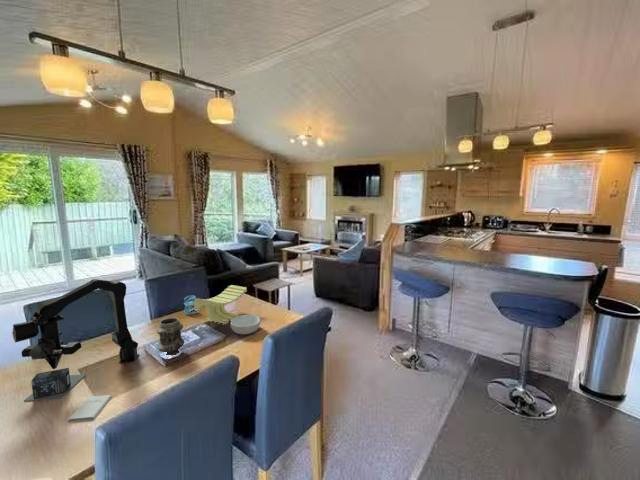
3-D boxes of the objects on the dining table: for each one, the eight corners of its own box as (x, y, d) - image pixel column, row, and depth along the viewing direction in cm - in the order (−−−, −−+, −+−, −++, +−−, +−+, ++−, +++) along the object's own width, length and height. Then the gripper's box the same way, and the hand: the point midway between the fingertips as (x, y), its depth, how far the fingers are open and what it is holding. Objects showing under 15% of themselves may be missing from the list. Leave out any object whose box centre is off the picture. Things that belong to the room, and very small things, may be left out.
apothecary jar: (176, 346, 161) (174, 313, 159) (189, 353, 154) (187, 319, 152) (153, 355, 152) (150, 321, 149) (166, 363, 145) (163, 327, 142)
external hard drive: (68, 423, 108) (89, 400, 120) (93, 420, 109) (111, 398, 121) (67, 419, 107) (88, 396, 120) (93, 416, 109) (111, 394, 121)
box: (67, 392, 123) (33, 399, 118) (71, 384, 128) (38, 391, 123) (64, 374, 122) (30, 381, 117) (69, 367, 127) (36, 373, 122)
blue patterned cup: (182, 313, 206) (181, 296, 204) (195, 309, 212) (193, 293, 210) (186, 316, 201) (185, 299, 199) (199, 313, 206) (198, 296, 204)
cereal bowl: (224, 335, 174) (224, 323, 173) (242, 323, 190) (242, 313, 189) (249, 340, 168) (249, 328, 167) (265, 328, 183) (265, 317, 182)
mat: (86, 375, 135) (86, 374, 135) (60, 398, 120) (60, 397, 120) (54, 377, 134) (53, 376, 134) (23, 401, 118) (23, 400, 118)
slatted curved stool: (229, 308, 214) (228, 284, 211) (247, 312, 207) (246, 287, 205) (195, 325, 187) (193, 297, 185) (214, 330, 180) (213, 301, 178)
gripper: (6, 343, 114) (12, 381, 116) (61, 340, 116) (66, 378, 119) (30, 330, 125) (35, 365, 127) (80, 328, 127) (84, 362, 130)
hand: (54, 368), depth 125 cm, fingers closed
